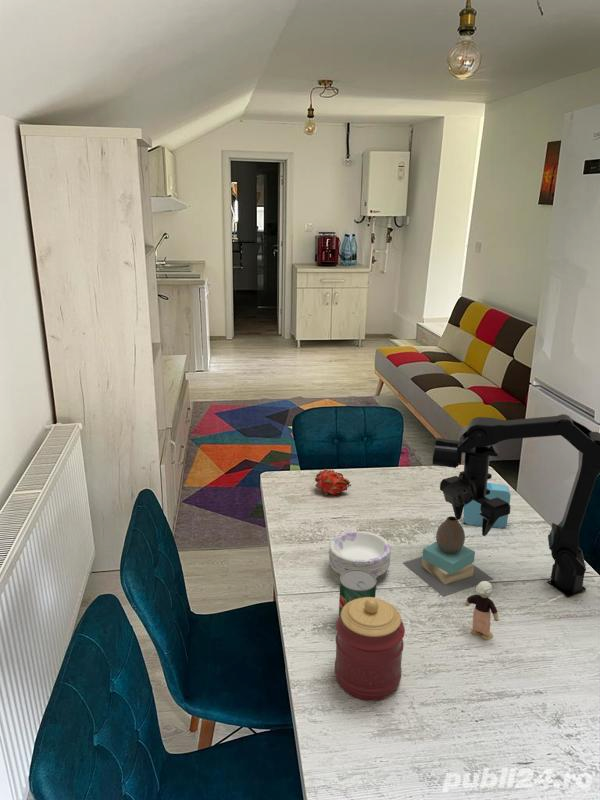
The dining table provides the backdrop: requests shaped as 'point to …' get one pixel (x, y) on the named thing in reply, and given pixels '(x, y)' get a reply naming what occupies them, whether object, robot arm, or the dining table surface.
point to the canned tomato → (356, 586)
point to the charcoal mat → (452, 587)
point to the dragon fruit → (331, 482)
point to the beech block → (447, 577)
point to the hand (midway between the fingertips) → (470, 527)
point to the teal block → (448, 558)
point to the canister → (369, 648)
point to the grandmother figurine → (482, 610)
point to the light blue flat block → (474, 507)
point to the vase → (450, 536)
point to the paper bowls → (359, 553)
